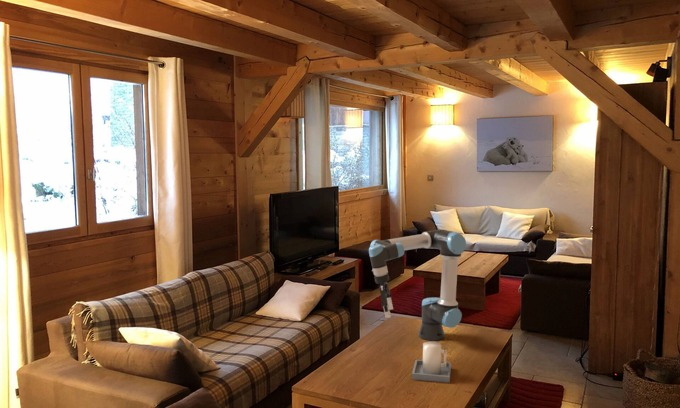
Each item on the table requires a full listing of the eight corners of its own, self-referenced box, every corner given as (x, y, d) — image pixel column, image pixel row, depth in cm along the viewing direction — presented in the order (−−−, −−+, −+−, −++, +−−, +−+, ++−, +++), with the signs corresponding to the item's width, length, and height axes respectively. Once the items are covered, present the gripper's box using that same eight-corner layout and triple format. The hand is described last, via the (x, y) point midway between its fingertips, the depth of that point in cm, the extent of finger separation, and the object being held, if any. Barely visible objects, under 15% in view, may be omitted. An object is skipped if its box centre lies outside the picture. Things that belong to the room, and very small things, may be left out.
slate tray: (415, 365, 292) (415, 359, 292) (450, 368, 288) (451, 362, 288) (411, 379, 275) (411, 373, 275) (449, 382, 271) (449, 376, 270)
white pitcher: (423, 367, 287) (423, 340, 285) (446, 369, 284) (446, 342, 283) (421, 374, 278) (422, 347, 277) (445, 376, 276) (446, 349, 274)
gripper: (377, 270, 309) (385, 307, 311) (371, 281, 285) (379, 322, 287) (390, 267, 308) (398, 305, 309) (385, 279, 283) (394, 319, 285)
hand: (389, 313), depth 298 cm, fingers open, 13 cm apart
